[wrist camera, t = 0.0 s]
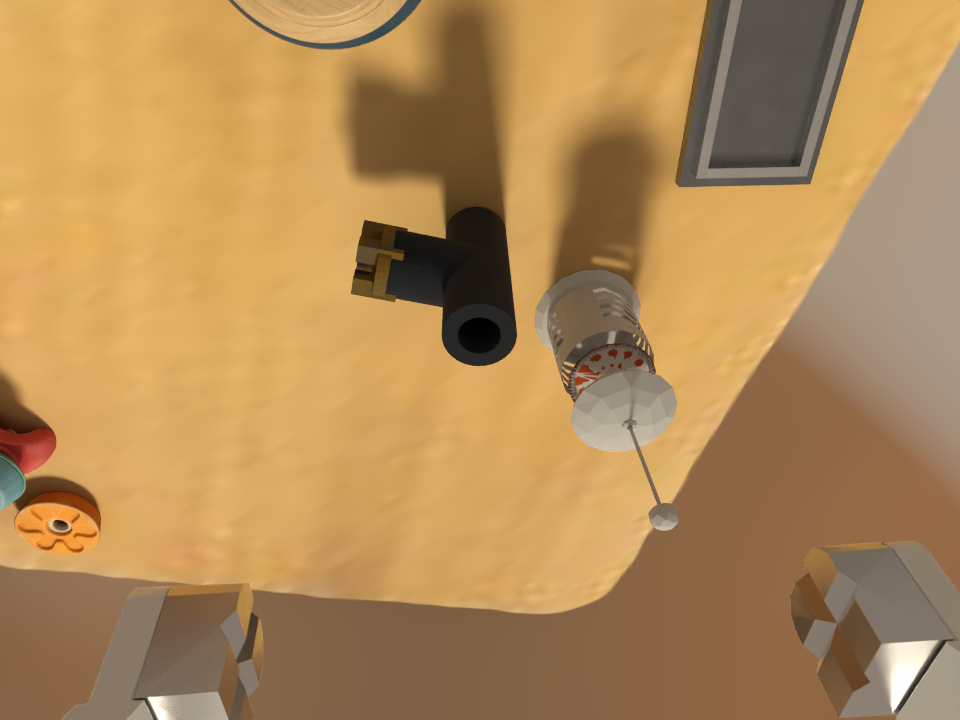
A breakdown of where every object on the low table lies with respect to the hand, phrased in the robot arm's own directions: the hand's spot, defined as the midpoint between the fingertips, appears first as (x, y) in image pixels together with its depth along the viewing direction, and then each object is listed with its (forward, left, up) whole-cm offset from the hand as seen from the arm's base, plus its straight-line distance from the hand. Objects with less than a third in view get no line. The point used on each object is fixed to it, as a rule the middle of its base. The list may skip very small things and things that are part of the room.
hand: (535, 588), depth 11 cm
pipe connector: (+17, 0, -49) cm, 52 cm away
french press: (+27, +14, -49) cm, 58 cm away
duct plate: (+4, +25, -48) cm, 55 cm away
